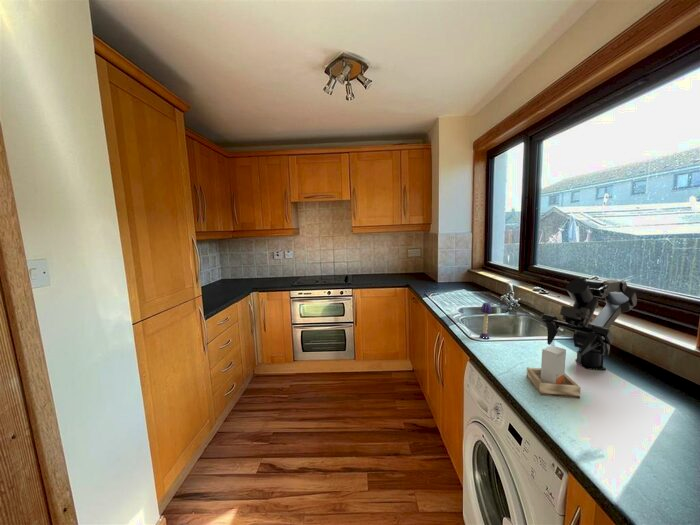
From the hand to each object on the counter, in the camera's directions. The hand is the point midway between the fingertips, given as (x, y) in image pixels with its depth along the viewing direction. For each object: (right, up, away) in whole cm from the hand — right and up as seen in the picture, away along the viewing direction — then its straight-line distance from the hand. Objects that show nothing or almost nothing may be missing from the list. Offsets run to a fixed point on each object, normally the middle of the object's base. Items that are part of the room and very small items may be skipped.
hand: (563, 349), depth 90 cm
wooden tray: (-5, -12, -2) cm, 13 cm away
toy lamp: (-7, -7, +38) cm, 39 cm away
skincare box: (-5, -11, -2) cm, 12 cm away
